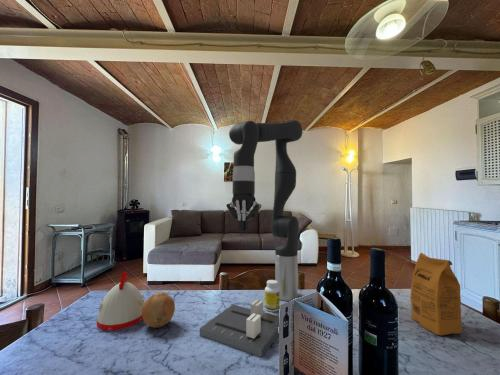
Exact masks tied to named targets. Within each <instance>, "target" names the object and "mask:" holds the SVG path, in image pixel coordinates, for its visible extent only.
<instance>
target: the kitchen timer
mask: <svg viewBox="0 0 500 375" xmlns="http://www.w3.org/2000/svg"><path fill="white" fill-rule="evenodd" d="M119 281H120V282H119V283H117V284H116V285H114V286H113V287H112V288H111V289H110V290H108V292H107V294H106V295H105V296H104V297H103V298H102V299H101V302H100V303H99V307H98V313H97V317H96V326H97V328H98V329H100V330H103V331H117V330H122V329H126V328H130V327H133V326H134V325H137V324H138V323H140V322H141V321H142V320H143V318H142V308H143V305H144V303H145V298H144V293H143V292H142V293H141V292H140V291H139V289H138V288H137V287H136V286H135V285H134V284H133V283H131V282H128V272H127V270H126V271H123V272H122V273H121V276H120V280H119Z"/></svg>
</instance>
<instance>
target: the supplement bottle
mask: <svg viewBox="0 0 500 375" xmlns="http://www.w3.org/2000/svg"><path fill="white" fill-rule="evenodd" d="M277 286H278V282H277V281H276V280H275V279H269V280H267V281H266V287H264V309H265V311H268V312H270V313H271V312H272V313H275V312H278V311H280V299H279V292H280V291H279V288H278V287H277Z"/></svg>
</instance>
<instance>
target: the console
mask: <svg viewBox="0 0 500 375" xmlns="http://www.w3.org/2000/svg"><path fill="white" fill-rule="evenodd" d="M249 316H251V308H247V307H244V306H240V305H236V304H232V305H230V306H229V307H227V308H226V309H225V310H223V311H222V312H220V313H219V314H217V315H216V316H215V317H213V318H212V319H210V320H209V321H208V322H206V323H205V324H203V325H202V326H201V327H200V328H199V336H200V337H203V338H206V339H209V340H212V341H214V342H217V343H220V344H223V345H225V346H229V347H230V348H233V349H237V350H240V351H242V352H246V353H248V354H251V355H252V356H253V355H254V356H257V357H260V358H262V357H263V356H264V355H265V354H266V352H267V351H268V349H269V348H270V347H271V345H272V344H273V342H274V341H275V339H276V338H277V337H278V336H279V334H278V327H279V316H280V315H275V314H272V313H267V312H265V311H263V316H262V317H261V332H260V333H259V334H258V335H257V336H256V337H255V338H251V337H248V336H246V319H247V318H248V317H249Z"/></svg>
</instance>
